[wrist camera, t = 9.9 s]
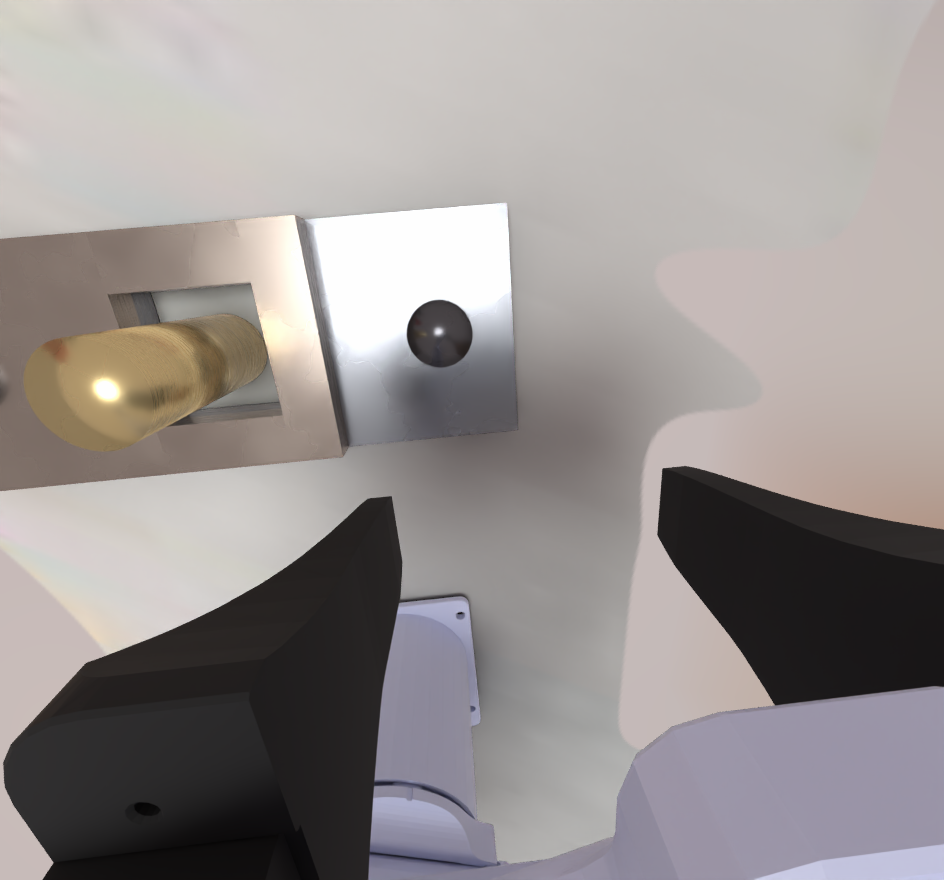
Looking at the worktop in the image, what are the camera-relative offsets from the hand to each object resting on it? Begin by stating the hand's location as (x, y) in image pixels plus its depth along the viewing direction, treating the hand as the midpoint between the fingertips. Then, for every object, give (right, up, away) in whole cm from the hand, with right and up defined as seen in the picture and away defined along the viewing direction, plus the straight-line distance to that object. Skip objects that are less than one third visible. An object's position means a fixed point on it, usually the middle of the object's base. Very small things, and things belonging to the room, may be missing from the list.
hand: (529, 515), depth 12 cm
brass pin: (-12, +6, +7) cm, 15 cm away
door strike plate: (-12, +6, +7) cm, 15 cm away
